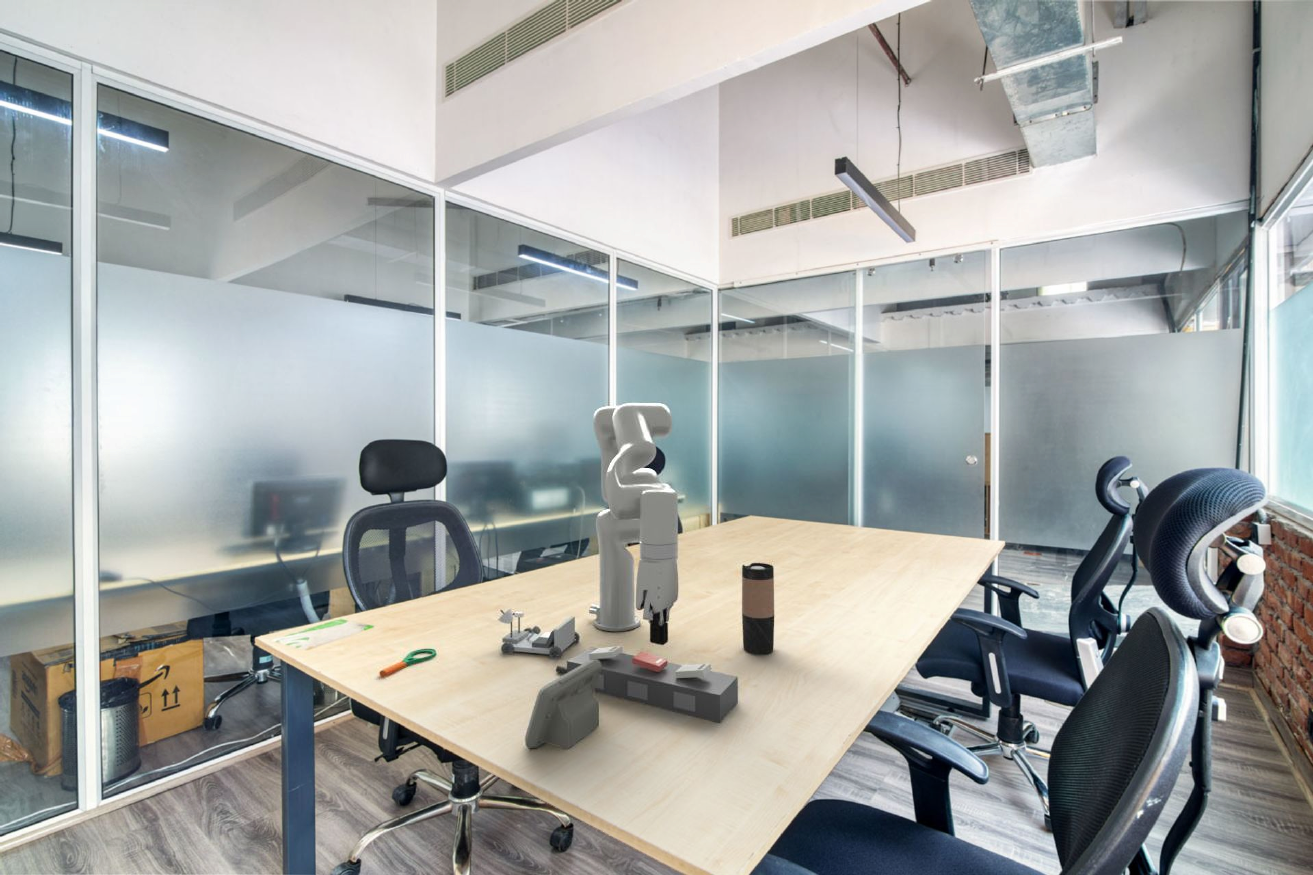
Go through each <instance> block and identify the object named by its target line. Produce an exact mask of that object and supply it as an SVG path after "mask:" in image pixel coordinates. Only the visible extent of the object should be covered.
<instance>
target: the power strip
mask: <svg viewBox="0 0 1313 875" xmlns="http://www.w3.org/2000/svg"><path fill="white" fill-rule="evenodd" d="M598 648H599V647H593V646H591V647H589V648H588V649H586V650H584V651H582V652H581V653H578V654H577V655H575V656H574V657H572V658H570V659H568V660H566V667H565V666H561V665H557V666H556V668H555V671H556V672H557V673H561V674H564V675H565V674H566V673H568V672H570V671H572V670H573V669H575V668H577V667H579V666H580V665H582V664H584V663H586V662H588V661H590V657H589V653H591V652H593V651H595V650H596V649H598ZM634 656H635V655H634V654H628V653H623V652H622V653H620V654H619V655H617V656H615V657H614V658H603V659H597V660H599V661H600V663H601V672H600V675H599V678H598V681H597V685H596V688H595V691H594V693H598V694H602V695H605V696H610V697H613V698H618V699H620V700H621V699H622V700H625V701H631V702H634V703H638V704H642V705H646V706H650V707H654V708H657V709H662V710H666V711H670V712H674V713H678V714H682V715H686V716H691V717H695V718H699V719H702V720H706V721H710V722H714V723H719V724H721V723H722V722H723V720H725V718H726V717H727V716H728V715H729V714H730V712H731V711H732V710H733V709H734V708H735V707H736V706H737V704H739V676H737V675H732V674H727V673H722V672H717V671H712V670H711V671H710V672H709V673H707V674H706V675H705V676H704V677H689V678H676V675H675V671H677V670H678V669H679V668H680V667H681V666H683V665H684V664H683V665H682V664H677V663H673V662H668V661H667V666H666V667H665V668H663V669H662V670H661V671H659V672H656V671H653V670H650V669H647V668H644V667H641V666H638V665H635V664H632V659H633V657H634ZM592 660H596V659H592Z"/></svg>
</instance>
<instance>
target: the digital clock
mask: <svg viewBox="0 0 1313 875" xmlns="http://www.w3.org/2000/svg"><path fill="white" fill-rule="evenodd" d="M600 672H601V663H600V661H599V660H597V659H596V660H590V661H588V662H586V663H584V664H582V665H580V666H579V667H577V668H575V669H573V670H572V671H570V672H568V673H566V674H565V673H564V674H563V675H562V676H560V677H558V678H556V679H554V680H552V681H551V682H549V683H547V684H546V685H544V686H543V687H541V688H540V689H539V691H538V694H537V695H536V699H535V702H534V706H533V709H532V711H531V712H532V713H531V716H530V719H529V723H528V726H527V728H526V729H527V730H526V733H525V736H524V743H525V746H526V748H529V749H535V748H538V747H541V746H542V744H544V743H547V744H548V745H549V744H550V745H553V746H556V747H559V748H562V749H565V750H569V749H571V748H572V747H574V745H575V744H577V743H579V742H580V741H581V740H582V739H583V738H585V737H586V736H587V735H589V734H590V733H592V732H593V731H594V730H595V729H597V728H598V727H599V726H600V702H599V700H598V699H597V698H596V697H595V695H594V694H595V692H594V691H595V688H596V685H597V681H598V678H599V675H600Z"/></svg>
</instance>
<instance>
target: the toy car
mask: <svg viewBox="0 0 1313 875" xmlns="http://www.w3.org/2000/svg"><path fill="white" fill-rule="evenodd" d="M500 613H501V616H499V618H498V619H497V620H498V621H499V622H501V623H504V624H507V625H508V624H510V633H508V634H507V635H505V636H504V637H502V638H501V640H502V643H503V644H501V648H500V649H501V653H502V654H504V655H512V654H513V653H514V652H522V653H531V654H534V653H535V654H540V655H549V658H550V659H555V660H560V659H561V658H562V656H563V652H564V651H565V650H566V649H567V648H568V647H569V646H571V645H572V643H573V644H578V642H580V639H581V638H580V635H579V632H577V631H576V625H575V624H576V622H575V621H576V617H575V616H572V615H571V616H569V617H567V618H566V620H565V621H563V622H562V623H560V624H559V625H558V626H556V627H555V628H554V629H553V630H552V631H545V632H544V633H541V631H542V630H541V628H540V627H539V626H537V625H535V626H534V627H533V628H531V627H526V628H525V629H523V630H521V618H523V617H524V614H525V613H524V611H523V612H522V611H515V612H513V610H512V608H509V609H508V610H507V611H505V612H504V610H502V609H500ZM514 618H518V619H517V621H518V622H517V623H518V626H517V627H518V628H517V630H513V621H514Z"/></svg>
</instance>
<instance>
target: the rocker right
mask: <svg viewBox="0 0 1313 875" xmlns="http://www.w3.org/2000/svg"><path fill="white" fill-rule="evenodd" d="M710 671H712V665H711V663H696V664H683V666H681V667H680V668H679V669H678V670H677V671H675V675H676V678H689V677H704V676H705V675H706V674H707V673H709V672H710Z"/></svg>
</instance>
